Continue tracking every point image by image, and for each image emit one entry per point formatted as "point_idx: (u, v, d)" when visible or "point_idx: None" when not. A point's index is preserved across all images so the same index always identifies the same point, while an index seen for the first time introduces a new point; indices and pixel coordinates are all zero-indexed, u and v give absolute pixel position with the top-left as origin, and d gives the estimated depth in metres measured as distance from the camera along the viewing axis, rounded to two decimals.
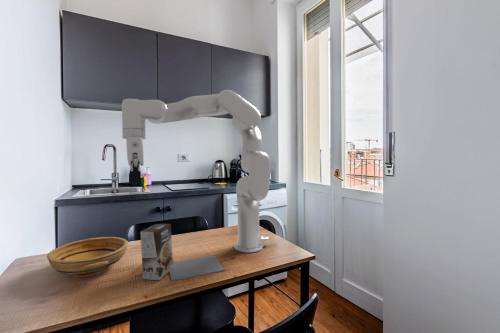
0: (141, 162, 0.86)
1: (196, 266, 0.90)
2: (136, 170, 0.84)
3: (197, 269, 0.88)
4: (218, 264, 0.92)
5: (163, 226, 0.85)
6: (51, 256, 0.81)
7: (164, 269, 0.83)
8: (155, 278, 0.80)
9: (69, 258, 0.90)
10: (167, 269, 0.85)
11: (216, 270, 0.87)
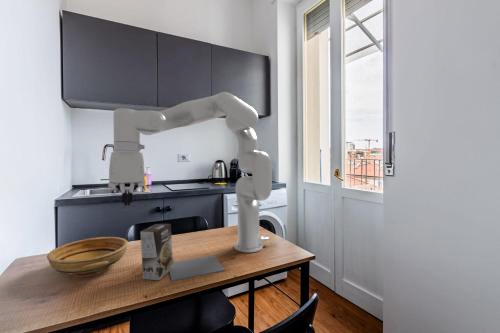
0: None
1: (196, 266, 0.90)
2: (132, 192, 0.81)
3: (197, 269, 0.88)
4: (218, 264, 0.92)
5: (163, 226, 0.85)
6: (51, 256, 0.81)
7: (164, 269, 0.83)
8: (155, 278, 0.80)
9: (69, 258, 0.90)
10: (167, 269, 0.85)
11: (216, 270, 0.87)
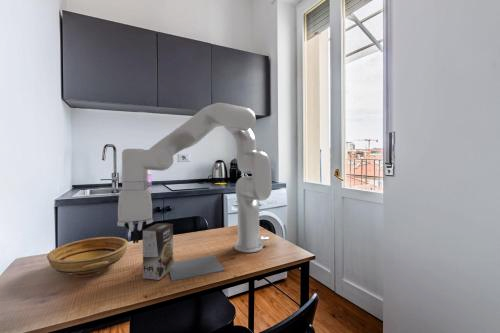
0: None
1: (196, 266, 0.90)
2: None
3: (197, 269, 0.88)
4: (218, 264, 0.92)
5: (165, 226, 0.85)
6: (51, 256, 0.81)
7: (165, 268, 0.83)
8: (155, 278, 0.80)
9: (69, 258, 0.90)
10: (167, 269, 0.85)
11: (216, 270, 0.87)
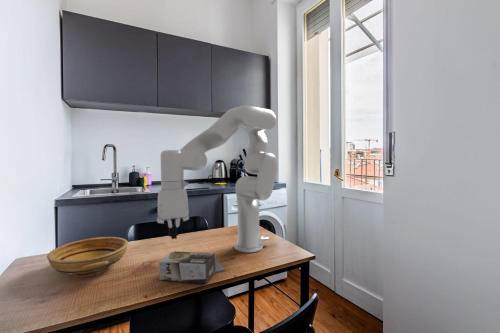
0: None
1: None
2: None
3: None
4: (218, 264, 0.92)
5: (212, 272, 0.82)
6: (51, 256, 0.81)
7: None
8: (160, 275, 0.80)
9: (69, 258, 0.90)
10: None
11: (216, 270, 0.87)
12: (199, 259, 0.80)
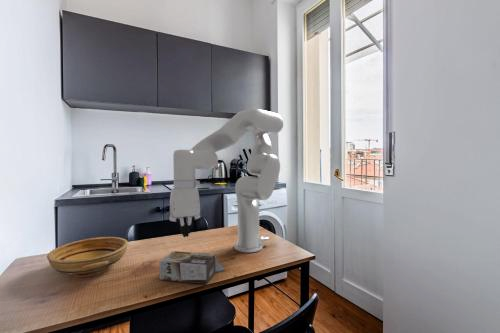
0: None
1: None
2: None
3: None
4: (218, 264, 0.92)
5: (212, 273, 0.82)
6: (51, 256, 0.81)
7: None
8: (160, 275, 0.80)
9: (69, 258, 0.90)
10: None
11: (216, 270, 0.87)
12: (200, 259, 0.80)
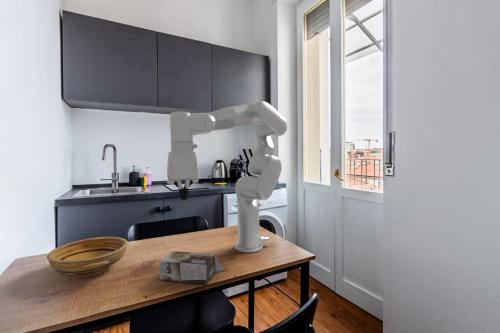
0: None
1: None
2: (187, 188, 0.88)
3: None
4: (218, 264, 0.92)
5: (212, 273, 0.82)
6: (51, 256, 0.81)
7: None
8: (160, 275, 0.80)
9: (69, 258, 0.90)
10: None
11: (216, 270, 0.87)
12: (200, 259, 0.80)
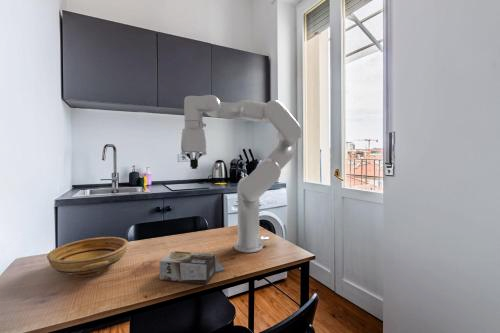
0: None
1: None
2: (197, 159, 1.07)
3: None
4: (218, 264, 0.92)
5: (212, 273, 0.82)
6: (51, 256, 0.81)
7: None
8: (160, 275, 0.80)
9: (69, 258, 0.90)
10: None
11: (216, 270, 0.87)
12: (200, 259, 0.80)
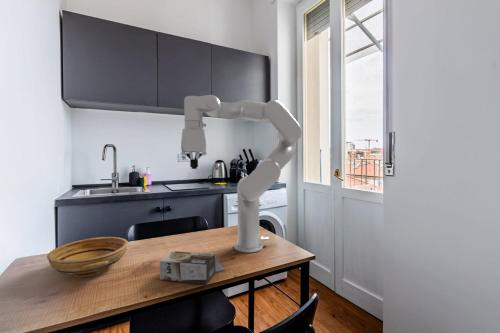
0: None
1: None
2: (197, 159, 1.07)
3: None
4: (218, 264, 0.92)
5: (212, 273, 0.82)
6: (51, 256, 0.81)
7: None
8: (160, 275, 0.80)
9: (69, 258, 0.90)
10: None
11: (216, 270, 0.87)
12: (200, 259, 0.80)
